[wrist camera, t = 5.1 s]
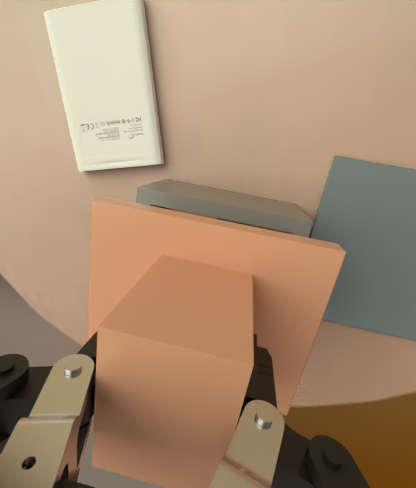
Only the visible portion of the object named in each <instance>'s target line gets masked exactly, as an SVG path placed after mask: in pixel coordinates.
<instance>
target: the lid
mask: <svg viewBox="0 0 416 488" xmlns="http://www.w3.org/2000/svg"><path fill="white" fill-rule="evenodd" d="M345 254H346V251H345V250H344V249H343V248H342V247H341V246H340V245H339V244H337V243H332V242H327V241H322V240H317V239H312V238H307V237H302V236H297V235H292V234H287V233H282V232H277V231H272V230H267V229H263V228H258V227H253V226H248V225H243V224H238V223H233V222H228V221H223V220H218V219H213V218H208V217H203V216H198V215H193V214H189V213H184V212H179V211H174V210H169V209H164V208H159V207H154V206H149V205H144V204H139V203H134V202H129V201H124V200H119V199H115V198H110V197H105V196H104V197H100V198H97V199H93V200H91V236H90V272H89V309H88V340H89V339H90V338H91V337H92V336H93V335H94V334H95V332H97V330H98V333H97V357H96V381H95V405H94V429H93V453H92V466H94V467H98V468H101V469H105V470H108V471H112V472H115V473H119V474H122V475H126V476H129V477H132V478H135V479H139V480H142V481H146V482H149V483H152V484H156V485H159V486H163V487H166V488H209V487H210V484H211V482H212V480H213V477H214V475H215V472H216V470H217V468H218V465H219V463H220V461H221V459H222V457H224V456H225V454H226V451H227V449H228V447H229V444H230V442H231V439H232V437H233V435H234V432H235V429H236V426H237V422H238V419H239V415H240V412H241V408H242V405H243V401H244V397H245V394H246V390H247V387H248V383H249V380H250V376H251V373H252V369H253V366H254V350H253V334H257V346H258V347H263V348H266V349H267V350H268V352H269V354H270V355H271V357H272V363H273V373H274V382H275V392H276V401H277V409H278V411H279V412H280V413H281V414H283V415H287V414H288V411H289V408H290V405H291V403H292V400H293V397H294V394H295V392H296V389H297V386H298V383H299V381H300V378H301V375H302V372H303V370H304V367H305V364H306V361H307V359H308V356H309V353H310V350H311V348H312V345H313V342H314V339H315V337H316V334H317V331H318V328H319V326H320V323H321V320H322V317H323V315H324V312H325V309H326V306H327V304H328V301H329V298H330V295H331V293H332V290H333V287H334V284H335V282H336V279H337V276H338V273H339V271H340V268H341V265H342V262H343V260H344V257H345Z"/></svg>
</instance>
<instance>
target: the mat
mask: <svg viewBox="0 0 416 488" xmlns="http://www.w3.org/2000/svg"><path fill="white" fill-rule="evenodd" d="M309 238H312V239H317V240H322V241H327V242H332V243H337V244H339V245H340V246H341V247H342V248H343V249H344V250H345V251H346V254H345V257H344V260H343V262H342V265H341V268H340V271H339V273H338V276H337V279H336V282H335V284H334V287H333V290H332V293H331V295H330V298H329V301H328V304H327V306H326V309H325V312H324V315H323V317H322V320H327V321H331V322H336V323H340V324H345V325H349V326H353V327H358V328H362V329H367V330H371V331H376V332H380V333H384V334H389V335H393V336H398V337H402V338H407V339H411V340H415V341H416V170H412V169H406V168H401V167H395V166H389V165H384V164H378V163H372V162H367V161H361V160H355V159H350V158H344V157H338V156H334V160H333V163H332V166H331V169H330V173H329V176H328V179H327V182H326V186H325V189H324V192H323V195H322V198H321V202H320V205H319V208H318V211H317V215H316V218H315V221H314V224H313V228H312V231H311V234H310V237H309Z"/></svg>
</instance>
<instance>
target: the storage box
mask: <svg viewBox="0 0 416 488" xmlns="http://www.w3.org/2000/svg"><path fill="white" fill-rule="evenodd" d="M136 203H139V204H144V205H149V206H154V207H159V208H164V209H169V210H174V211H179V212H184V213H189V214H193V215H198V216H203V217H208V218H213V219H218V220H223V221H228V222H233V223H238V224H243V225H248V226H253V227H258V228H263V229H267V230H272V231H277V232H282V233H287V234H292V235H297V236H302V237H307V238H308V237H309V234H310V231H311V227H312V224H313V221H312V220H311V219H310V218H309V217H308V216H307V215H306V214H305V213H304V212H303V211H302V210H301V209H300V208H299V207H298V206H297V205H296V204H292V203H287V202H282V201H277V200H271V199H266V198H261V197H256V196H251V195H246V194H240V193H235V192H230V191H225V190H220V189H215V188H209V187H204V186H199V185H194V184H189V183H184V182H178V181H173V180H168V179H165V180H162V181H158V182H154V183H151V184H147V185H143V186H140V187H137V197H136Z"/></svg>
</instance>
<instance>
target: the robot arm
mask: <svg viewBox="0 0 416 488" xmlns="http://www.w3.org/2000/svg"><path fill="white" fill-rule="evenodd" d="M97 333H98V330H97V332H95V334H94V335H93V336H92V337H91V338H90V339H89V340H88V342H87V343H86V344H85V345H84V346H83V347H82V348H81V350H80V351H79V352H78V353H77V354H73V355H69V356H66V357H64V358H62V359H61V360H59V361H58V362H56V363H55V365H54V366H48V367H29V362H28V360H27V358H26V357H24V356H22V355H18V354H8V355H3V356H0V488H94V487H91V486H88V485H84V484H81V483H78V482H77V481H78V476H79V471H80V467H81V463H82V459H83V455H84V451H85V447H86V443H87V439H88V435H89V431H90V427H91V423H92V416H93V414H94V405H95V381H96V357H97ZM253 350H254V366H253V369H252V373H251V376H250V380H249V383H248V387H247V390H246V394H245V397H244V401H243V405H242V408H241V412H240V415H239V419H238V422H237V426H236V429H235V432H234V435H233V437H232V439H231V442H230V444H229V447H228V449H227V451H226V454H225V456H224V457H222V459H221V461H220V463H219V465H218V468H217V470H216V472H215V475H214V477H213V480H212V482H211V484H210V487H209V488H370V487H369V486H368V484H367V482H366V480H365V478H364V477H363V475H362V473H361V471H360V470H359V468H358V466H357V465H356V463H355V461H354V459H353V458H352V456H351V455H350V453H349V452H348V451H347V449H346V448H345V447H344V446H343V445H342V444H340V443H339V442H338V441H336V440H334V439H333V438H331V437H328V436H324V435H318V436H315V437H313V438H312V440H311V441H310V440H308V439H307V438H305V437H303V436H301V435H300V434H298V433H296V432H295V431H293V430H292V429H291V428H289V427H288V426H287V425H286V424H285V422H284V419H283V417H282V415H281V413H280V412H279V411H278V409H277V401H276V392H275V382H274V373H273V363H272V357H271V355H270V354H269V352H268V350H267V349H266V348H263V347H258V346H257V334H253Z"/></svg>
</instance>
